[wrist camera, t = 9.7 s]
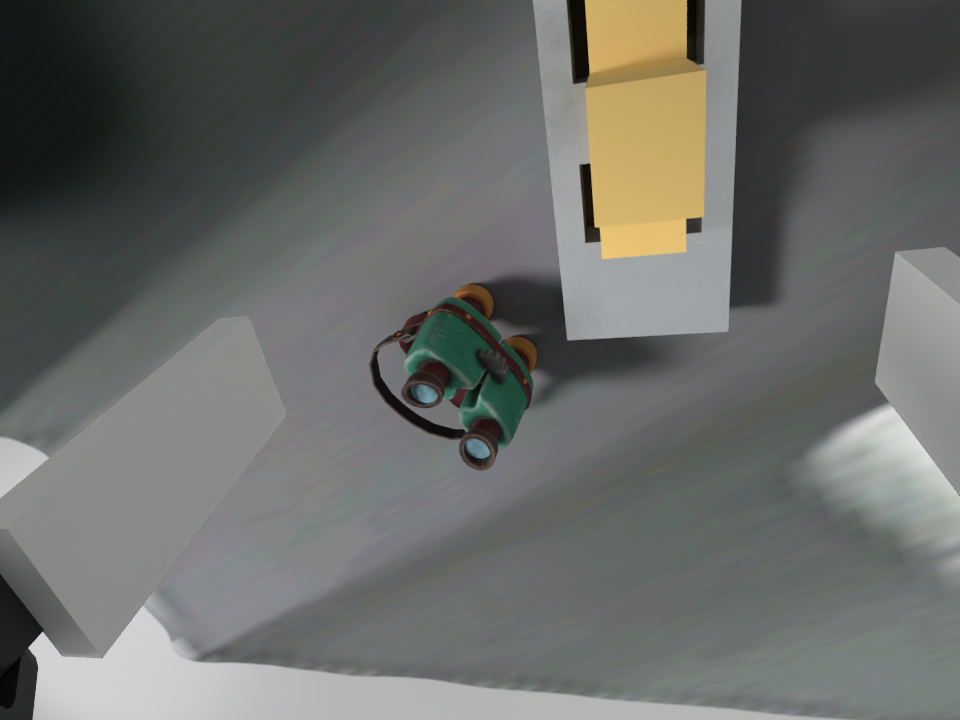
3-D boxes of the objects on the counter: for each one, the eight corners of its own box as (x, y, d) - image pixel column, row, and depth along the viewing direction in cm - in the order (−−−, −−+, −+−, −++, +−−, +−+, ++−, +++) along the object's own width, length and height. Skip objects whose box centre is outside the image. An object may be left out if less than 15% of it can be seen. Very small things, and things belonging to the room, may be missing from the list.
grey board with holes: (569, 318, 39) (567, 340, 36) (524, -159, 27) (515, -176, 25) (719, 309, 37) (728, 331, 34) (736, -212, 25) (750, -237, 23)
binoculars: (304, 426, 34) (422, 345, 29) (377, 332, 43) (479, 257, 38) (410, 527, 37) (537, 469, 32) (459, 419, 45) (566, 360, 40)
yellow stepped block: (674, 216, 34) (702, 302, 24) (602, 223, 35) (600, 309, 25) (673, -32, 29) (708, -55, 19) (587, -16, 30) (577, -29, 19)
